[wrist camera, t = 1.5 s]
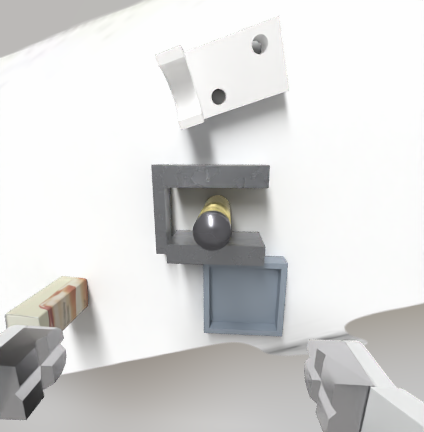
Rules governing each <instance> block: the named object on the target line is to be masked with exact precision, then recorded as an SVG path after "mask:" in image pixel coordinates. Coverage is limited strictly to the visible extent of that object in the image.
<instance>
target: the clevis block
mask: <svg viewBox="0 0 424 432" xmlns="http://www.w3.org/2000/svg"><path fill="white" fill-rule="evenodd" d="M269 170H270V165H175V164H174V165H169V164H158V165H152V183H153V200H154V218H155V235H156V253H157V254H167V263H174V264H210V265H245V266H264V259H265V245H264V243H263V241H262V238H261V236H260V234H259V232H236V231H231V238H230V240H229V242H228V244H227V245H226V246H225V247H223V248H222V249H219V250H216V251H209V250H205V249H203V248H201V247H200V246H199V245H198V244H197V243H196V242H195V240H194V237H193V231H185V230H176V232H175V233H174V235H173V236H172V228H171V203H170V187H184V188H269Z"/></svg>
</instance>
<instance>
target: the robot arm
mask: <svg viewBox="0 0 424 432" xmlns="http://www.w3.org/2000/svg"><path fill="white" fill-rule="evenodd" d="M63 339H64V337H63V332H62V329H60V328H57V327H43V326H25V325H14V326H10V327H8V328H7V329H6V330H4V331H3V332H2V333H0V419H7V420H11V419H12V420H27V418H28V417H29V416H30V414H31V413H32V412H33V411H34V409H35V408H36V407H37V405H38V404H39V403H40V401H41V400H42V399H43V398H44V391H45V389H46V388H47V387H49V386H51V385H52V384H54V383H55V382H56V380H57V379H58V378H59V376H60V375H61V373H62V371H63V368H64V366H65V363H66V350H65V349H64V347H63V346H62V345H61V344H60V343H61V342H62V340H63ZM307 352H308V354H309V358H308V359H307V360H306V361H305V368H304V373H305V382H306V386H307V390H308V392H309V395H310V397H311V398H312V399H313V400H314V401H315V402H316V403H317V408H316V414H317V417H318V420H319V422H320V425H321V427H322V430H323V432H424V402H422V401H421V400H419V399H418V398H416V397H415V396H413V395H412V394H410V393H409V392H407V391H406V390H404V389H402V388H397V387H396V386H395V385H394V384H393V382H392V381H391V380H390V378H389V377H388V376H387V375H386V373H385V372H384V371H383V369H382V368H381V367H380V366H379V364H378V363H377V362H376V361H375V359H374V358H373V357H372V355H371V354H370V353H369V352H368V350H367V349H366V348H365V346H364V345H363V344H362V343H361V342H359V341H355V340H341V341H339V340H314V339H309V341H308V343H307Z"/></svg>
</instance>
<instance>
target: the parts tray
mask: <svg viewBox="0 0 424 432" xmlns="http://www.w3.org/2000/svg"><path fill="white" fill-rule="evenodd" d="M287 268H288V263H287V261H286V260H285V258H284V257H283V256H265V259H264V266H245V265H210V264H203V271H204V333H221V334H242V335H264V336H282V330H283V318H284V306H285V293H286V281H287Z"/></svg>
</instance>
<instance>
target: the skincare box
mask: <svg viewBox="0 0 424 432" xmlns="http://www.w3.org/2000/svg"><path fill="white" fill-rule="evenodd" d="M87 306H88V291H87V280H86V279H84V278H76V277H65V276H61V277H60V278H58V279H57V280H55V281H54V282H52V283H51V284H49V285H48V286H47V287H45V288H44V289H42V290H41V291H39V292H38V293H36V294H34V295H33V296H32V297H30V298H29V299H27V300H26V301H24V302H23V303H21V304H20V305H18V306H17V307H15V308H14V309H12V310H11V311H9V312H8V313H6V314H5V322H6V329H7V328H8V327H10V326H14V325H25V326H43V327H57V328H60V329H62V331H63V330H64V329H65V328H66V327H67V326H68V325H69V324H70V323H71V322H72V321H73V320H74V319H75V318H76V317H77V316H78V315H79V314H80V313H81V312H82V311H83V310H84V309H85V308H86V307H87Z"/></svg>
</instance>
